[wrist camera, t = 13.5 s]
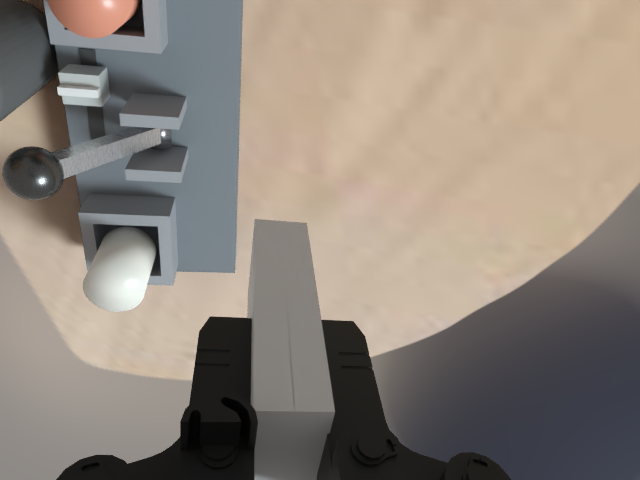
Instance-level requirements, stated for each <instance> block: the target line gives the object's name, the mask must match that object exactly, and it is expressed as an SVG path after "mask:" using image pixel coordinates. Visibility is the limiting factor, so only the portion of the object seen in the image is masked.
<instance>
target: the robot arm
mask: <svg viewBox="0 0 640 480" xmlns="http://www.w3.org/2000/svg"><path fill="white" fill-rule="evenodd" d="M56 480H511V479H510V478H509V476H508V475H507V474H506V473H505V472H504V470H503V469H502V468H501V467H500V466H499V465H498V464H497V463H495V462H493V461H492V460H490V459H489V458H487V457H486V456H483V455H480V454H476V453H473V452H472V453H471V452H470V453H460V454H458V455H456V456H454V457H452V458H451V459H450V461H449V462H448V463H446V462H443V461H439V460H436V459H433V458H430V457H427V456H424V455H421V454H418V453H416V452H413V451H411V450H410V449H408V448H407V447H405V446H404V445H402V444H401V443H400V442H399V440H398V438H397V437H396V436H394V434H393V433H392V432H391V431H390V430H389V428H388V426H387V423H386V420H385V416H384V412H383V408H382V404H381V400H380V396H379V392H378V388H377V384H376V380H375V376H374V372H373V370H372V363H371V359H370V356H369V351H368V347H367V343H366V339H365V336H364V334H363V333H362V332H361V331H360V329H359V328H358V327H357V325H356V324H355V323H354V322H353V321H335V320H321V315H320V308H319V301H318V295H317V288H316V282H315V275H314V268H313V262H312V255H311V248H310V242H309V235H308V229H307V223H300V222H286V221H273V220H259V219H255V223H254V234H253V245H252V256H251V267H250V277H249V288H248V315H247V318H232V317H210V318H209V319H208V320H207V322H206V323H205V324H204V326H203V327H202V329H201V330H200V331H199V338H198V345H197V353H196V360H195V367H194V375H193V382H192V389H191V397H190V404H189V406H188V407H187V408H186V409H185V412H184V414H183V417H182V419H181V436H180V438H179V439H178V440H177V441H176V442H175V443H174V444H173V445H172V446H171V447H169V448H168V449H166V450H165V451H163V452H161V453H159V454H157V455H154V456H152V457H149V458H146V459H142V460H139V461H136V462H132V463H129V464H127V463H126V462H125V461H124V460H122V459H119V458H117V457H115V456H113V455H94V456H91V457H87V458H84V459H81V460H79V461H77V462H76V463H74V464H73V465H71V466H69V467H68V468H66V469H65V470H64V471H63V473H62V474H61V475H60V476H59V477H58V478H57V479H56Z"/></svg>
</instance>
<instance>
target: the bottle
mask: <svg viewBox="0 0 640 480" xmlns="http://www.w3.org/2000/svg"><path fill="white" fill-rule="evenodd" d="M58 71H59V68H58V62H57V55H56V49H55V45H54V44H50V38H49V32H48V26H47V20H46V16H45V15H44V14H43V13H41V12H40V11H39V10H37V9H36V8H34V7H33V6H31V5H29V4H27V3H24V2H21V1H17V0H0V121H1V120H3V119H4V118H5V117H6V116H8V115H9V114H10V113H11V112H13V111H14V110H15V109H16V108H18V107H19V106H20V105H21V104H23V103H24V102H25V101H26V100H28V99H29V98H30V97H31V96H33V95H34V94H35V93H36V92H37V91H39V90H40V89H41V88H42V87H43V86H45V85H46V84H47V83H48V82H49V81H50V80H51V79H53V78H54V77H55V75H56V74H57V73H58Z"/></svg>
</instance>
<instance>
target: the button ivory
mask: <svg viewBox="0 0 640 480" xmlns="http://www.w3.org/2000/svg"><path fill="white" fill-rule="evenodd" d="M155 256H156V246H155V243H154V241H153V240H152V238H151V237H150V236H149V235H148V234H146V233H145V232H143V231H142V230H139V229H137V228H133V227H118V228H115V229H113V230H111V231H109V232H108V233H107V234H106V235H105V236H104V238H103V240H102V242H101V245H100V247H99V249H98V251H97V253H96V255H95V257H94V260H93V262H92V264H91V266H90V268H89V270H88V272H87V274H86V277H85V279H84V282H83V290H84V293H85V295H86V297H87V298H88V299H89V300H90V301H91V302H92V303H93V304H94V305H96V306H98V307H100V308H102V309H104V310H108V311H114V312H121V311H127V310H130V309H132V308H134V307H136V306H137V305H138V304H140V302H141V301H142V299H143V297H144V294H145V291H146V287H147V284H148V280H149V277H150V273H151V270H152V266H153V263H154V260H155Z"/></svg>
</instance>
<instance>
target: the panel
mask: <svg viewBox="0 0 640 480" xmlns="http://www.w3.org/2000/svg"><path fill="white" fill-rule="evenodd" d="M43 1H44V8H45V14H46V20H47V26H48V32H49V38H50V44H54V45H55V49H56V55H57V62H58V68H59V71H61V70H62V69H63V68H64V67H66V66H67V65H68V64H76V65H88V66H100V67H107V72H108V81H109V90H110V98H109V99H108V100H107V101H106V103H105V104H104V105H103V106H102V107H98V106H84V105H70V104H64V106H65V112H66V118H67V125H68V131H69V137H70V144H71V146H74V145H77V144H80V143H83V142H87V141H90V140H93V139H96V138H100V137H103V136H106V135H109V134H112V133H116V132H119V131H122V130H125V129H128V128H132V127H145V128H160V129H171V131H172V147H171V148H170V149H167V150H154V149H151V148H147V149H145V150H142V151H139V152H136V153H134V154H131V155H128V156H125V157H122V158H120V159H117V160H114V161H111V162H109V163H106V164H103V165H100V166H98V167H95V168H92V169H89V170H87V171H84V172H81V173H78V174H76V181H77V188H78V194H79V200H80V206H81V209H80V210H79V212H78V216H79V222H80V228H81V234H82V240H83V246H84V252H85V259H86V265H87V271H88V270H89V268H90V266H91V264H92V262H93V260H94V257H95V255H96V253H97V251H98V249H99V247H100V245H101V242H102V240H103V238H104V236H105V235H106V234H107V233H108V232H109V231H111V230H113V229H115V228H118V227H133V228H137V229H139V230H142V231H143V232H145V233H146V234H148V235H149V236H150V237H151V238H152V240H153V241H154V243H155V246H156V256H155V260H154V263H153V266H152V270H151V273H150V277H149V280H148V284H147V285H174V281H175V276H176V272H177V271H182V272H221V273H235V260H236V231H237V194H238V158H239V122H240V85H241V49H242V13H243V0H142V4H141V6H140V8H139V10H138V12H137V13H136V14H135V15H134V16H133V17H131V18H130V19H129V20H128V21H127V22H125V23H124V24H123V25H122V26H121V27H119V28H118V29H117V30H116V31H115V32H113V33H112V34H110V35H108V36H106V37H102V38H87V37H83V36H80V35H77V34H75V33H73V32H72V31H70V30H69V29H67V28H66V27H65V26H63V25H62V24H61V23H60V22H59V21H58V19H57V18H56V17H55V16H54V14H53V12H52V11H51V9H50V7H49V4H48V1H47V0H43Z"/></svg>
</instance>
